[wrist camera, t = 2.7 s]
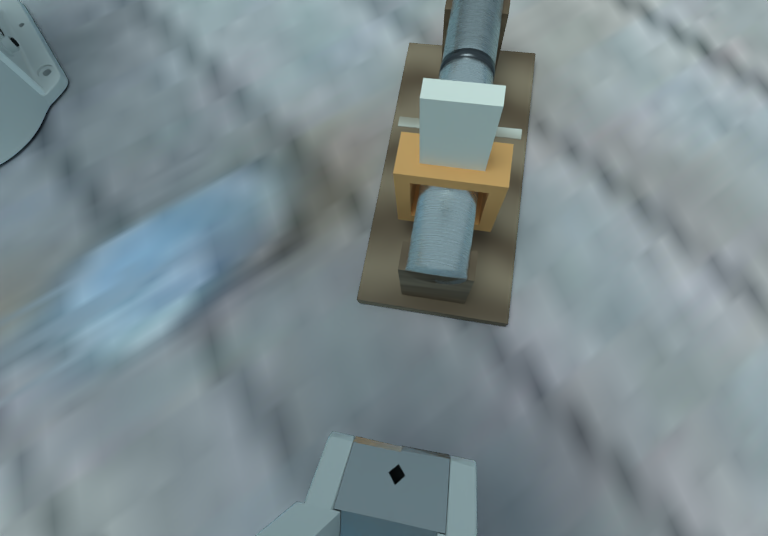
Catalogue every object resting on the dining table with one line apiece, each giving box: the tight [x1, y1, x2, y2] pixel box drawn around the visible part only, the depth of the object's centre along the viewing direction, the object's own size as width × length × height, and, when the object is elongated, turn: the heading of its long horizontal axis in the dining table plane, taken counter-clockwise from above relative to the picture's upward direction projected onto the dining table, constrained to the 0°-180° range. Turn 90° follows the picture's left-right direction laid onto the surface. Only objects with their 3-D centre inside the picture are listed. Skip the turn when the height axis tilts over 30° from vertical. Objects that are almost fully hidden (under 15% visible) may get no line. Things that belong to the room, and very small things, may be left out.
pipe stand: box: [357, 0, 535, 326], centre depth 35 cm, size 26×12×8 cm, turn 169°
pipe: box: [405, 0, 504, 284], centre depth 32 cm, size 24×4×4 cm, turn 169°
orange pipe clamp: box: [393, 78, 514, 232], centre depth 27 cm, size 3×7×13 cm, turn 79°
